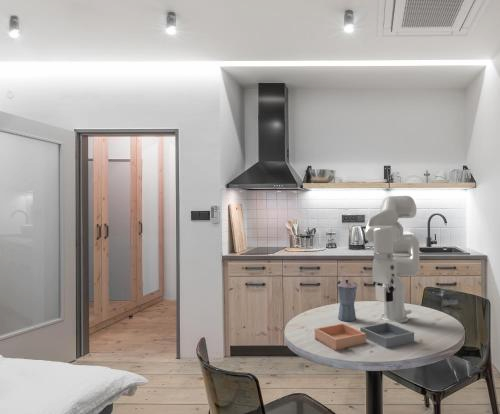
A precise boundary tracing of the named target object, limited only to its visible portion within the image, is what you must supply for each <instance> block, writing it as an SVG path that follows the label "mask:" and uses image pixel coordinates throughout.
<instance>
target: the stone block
mask: <svg viewBox="0 0 500 414" xmlns="http://www.w3.org/2000/svg"><path fill="white" fill-rule="evenodd" d="M389 288H390V286H389ZM374 289H375V292H374V293H375V301H379V302H382V303H383V304H384V303H385V302H387V301H386V292H387V289H386V285H385V284H384V285H383V284H382V285H377V286H374ZM393 301H394V297H393ZM390 302H391V301H390Z"/></svg>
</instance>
